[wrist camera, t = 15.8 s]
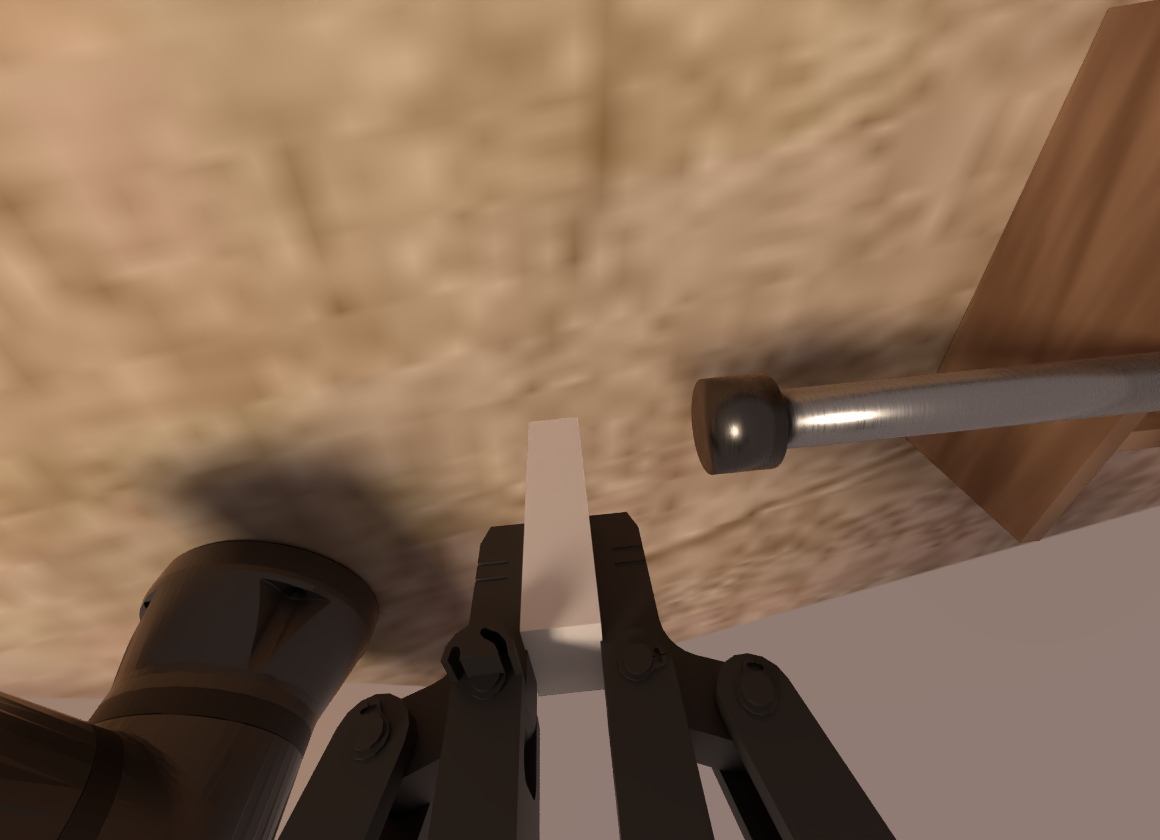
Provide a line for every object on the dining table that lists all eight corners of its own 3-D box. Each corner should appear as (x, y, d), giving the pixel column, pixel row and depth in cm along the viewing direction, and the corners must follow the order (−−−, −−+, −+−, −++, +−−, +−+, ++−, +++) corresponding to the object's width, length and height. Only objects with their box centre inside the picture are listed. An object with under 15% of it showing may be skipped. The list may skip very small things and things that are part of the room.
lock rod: (688, 435, 17) (715, 495, 14) (695, 361, 15) (727, 415, 12) (1168, 386, 17) (1281, 437, 14) (1235, 308, 15) (1378, 350, 13)
